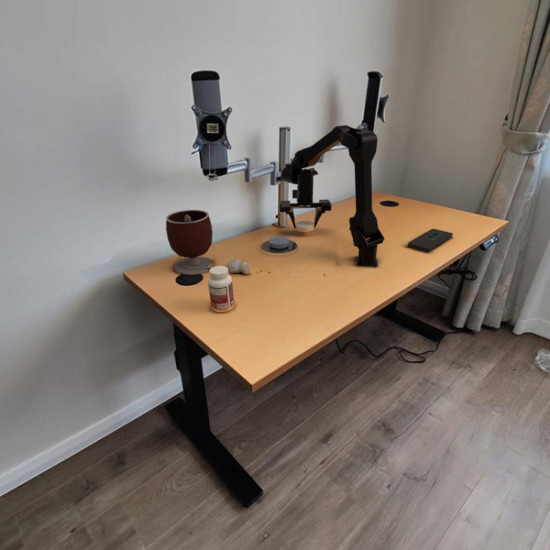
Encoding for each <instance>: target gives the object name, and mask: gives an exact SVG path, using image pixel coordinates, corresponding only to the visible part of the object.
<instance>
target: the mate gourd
mask: <svg viewBox="0 0 550 550" xmlns="http://www.w3.org/2000/svg"><path fill="white" fill-rule="evenodd" d="M165 232H166V237H167V241H168V244H169V247H170V249H171V250H172V251H173V252H174V253H175V254H176V255H177V256H179V257H182V258H184V259H182V260H181V259H180V261H178V262H177V263H175V266H174V268H175V271H176V272H177V273H178V274H181V275H184V276H196V275H201V274H205V273H207V272H210V269H211V268H212V267H209V266H210V265H211V263H212V262H213V260H212V259H211V258H209V257H205V256H203V255H205V254H207V253H208V251H209V250H210V248H211V246H212V244H213V224H212V222H211V218H210V214H209V212H208V211H205V210H201V209H184V210H178V211H174V212H172V213H169V214H168V215H167V216H166V217H165Z"/></svg>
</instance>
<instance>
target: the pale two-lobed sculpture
mask: <svg viewBox="0 0 550 550" xmlns="http://www.w3.org/2000/svg"><path fill="white" fill-rule="evenodd" d="M226 267H227V268H228V272H230V273H237V274H238V273H242V274H243V275H248V274H250V272H251V267H250V265H249V263H248V262H247V261H244V262H241V261H240V260H239V259H237V258H233V259H230V260H229V261H228V263H227V266H226Z"/></svg>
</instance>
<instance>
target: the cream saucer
mask: <svg viewBox="0 0 550 550" xmlns="http://www.w3.org/2000/svg"><path fill="white" fill-rule="evenodd" d="M294 230H296V231H298V232H301V233H308V232H312V231H314V230H315V228H314V221H310V220H300V221H297V222H295V229H294Z"/></svg>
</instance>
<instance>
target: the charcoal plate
mask: <svg viewBox="0 0 550 550" xmlns="http://www.w3.org/2000/svg"><path fill="white" fill-rule="evenodd" d="M297 248H298V243H297V242H295V241H293V240H291V239H289V246H287V247H285V248H282V249H275V248H272V247H270V246H269V240H266V241H264V242H263V243H261V245H260V249H261V250H262V251H264V252H267V253H271V254H286V253H291V252H293V251H295V250H296V249H297Z"/></svg>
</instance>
